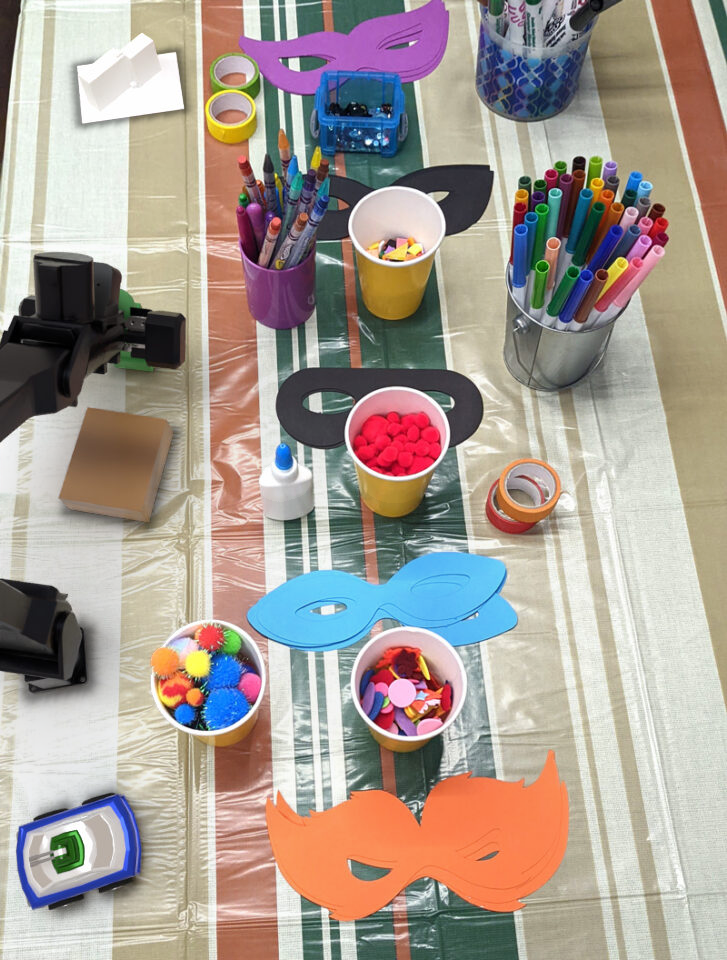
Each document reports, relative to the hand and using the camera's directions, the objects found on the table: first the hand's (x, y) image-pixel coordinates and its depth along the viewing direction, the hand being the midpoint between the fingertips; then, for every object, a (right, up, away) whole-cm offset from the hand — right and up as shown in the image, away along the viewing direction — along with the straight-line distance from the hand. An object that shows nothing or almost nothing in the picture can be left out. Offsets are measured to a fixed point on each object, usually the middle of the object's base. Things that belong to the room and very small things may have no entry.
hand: (128, 316), depth 109 cm
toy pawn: (0, -4, +6) cm, 7 cm away
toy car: (0, -59, -15) cm, 61 cm away
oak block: (-1, -19, 0) cm, 19 cm away
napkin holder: (-6, +38, +22) cm, 44 cm away
